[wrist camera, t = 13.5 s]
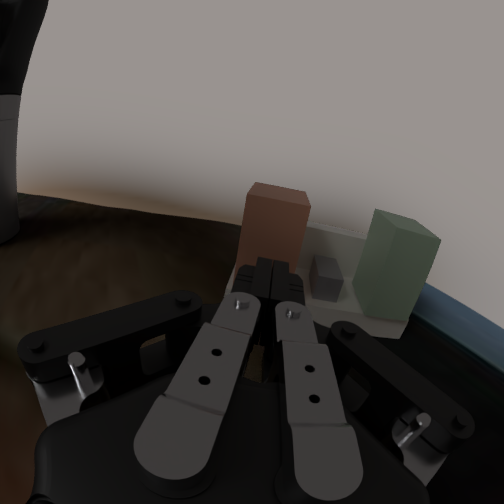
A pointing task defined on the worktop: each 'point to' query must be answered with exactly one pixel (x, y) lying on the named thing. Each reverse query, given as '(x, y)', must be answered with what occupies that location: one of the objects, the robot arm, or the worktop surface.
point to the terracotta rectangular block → (272, 225)
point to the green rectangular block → (393, 265)
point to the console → (335, 279)
